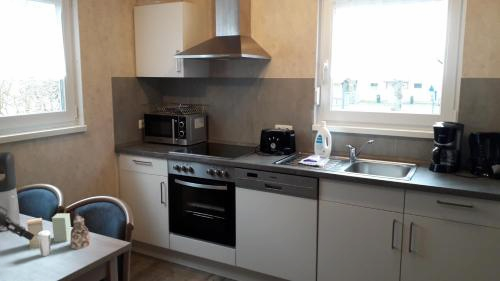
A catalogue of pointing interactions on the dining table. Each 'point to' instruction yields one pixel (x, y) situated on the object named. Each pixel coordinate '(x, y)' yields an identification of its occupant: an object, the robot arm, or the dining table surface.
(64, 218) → the sage block
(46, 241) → the milkshake
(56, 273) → the dining table surface
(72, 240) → the figurine
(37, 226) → the beech block
